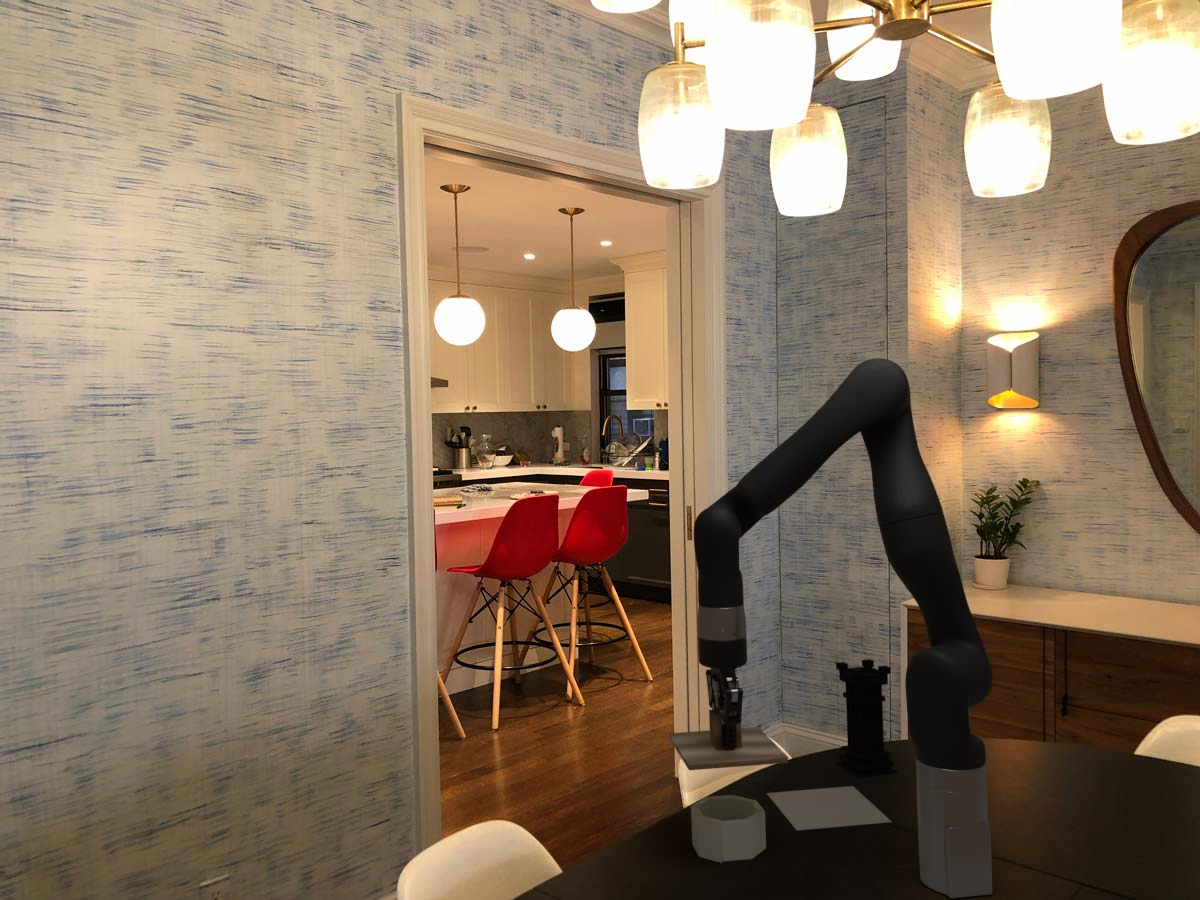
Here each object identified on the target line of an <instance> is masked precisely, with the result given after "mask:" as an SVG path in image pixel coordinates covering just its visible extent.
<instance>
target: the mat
mask: <svg viewBox="0 0 1200 900" xmlns="http://www.w3.org/2000/svg"><path fill="white" fill-rule="evenodd" d="M766 795H767V796H768V797H769V798H770V800H771V801H772V802H773V803H774V804H775V805H776V807H777V808H778V810H779V811H780V812H781V813H782V814H783V816H784V817H785V818H786V819H787V821H789V823H790V824H791V826H792V827H794V829H795V830H796V831H808V830H817V829H818V830H819V829H828V828H829V829H830V828H841V827H851V826H863V825H864V826H865V825H875V824H887V823H892V821H891V820H890V819H889V817H887V816H886V815H885V814H884V813H883V812H882V811H881V810H880V809H879V808H877V806H875V805H874V804H873V803H872V802H871V801H870V800H869V799H868V798H866V797H865V796H864V795H863V793H861V792H860V791H859V790H858V789H857V788H856V787H854V785H851V786H839V787H826V788H812V789H811V788H810V789H803V790H802V789H801V790H789V791H778V792H767V793H766Z"/></svg>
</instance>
